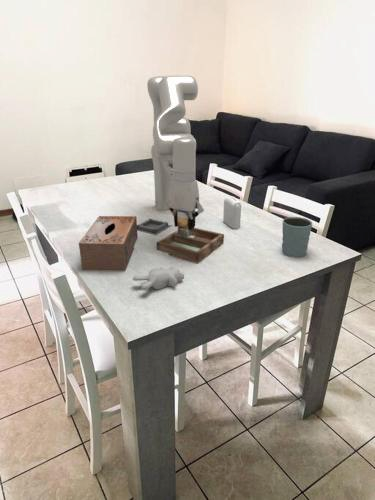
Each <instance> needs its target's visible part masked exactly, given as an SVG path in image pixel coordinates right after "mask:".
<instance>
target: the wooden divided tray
mask: <svg viewBox="0 0 375 500" xmlns="http://www.w3.org/2000/svg"><path fill="white" fill-rule="evenodd" d="M191 236H193V237H190V236H188V237H181V236H178V229H177V230H176V231H174V232H172V233H169V235H167V236H165V237H163V238H162V239H160V240H159V241H157V242H156V251H161V252H163V253H167V256H171V257H174V258H178V259H180V260H181V259H182V260H185V261H188V262H192V263H195V264H199V263H201V262H202V261H203V260H205V259H206V258H207V257H208V256H209V255H211V254H212V253H213V252H215V251H216V250H217V249H218V248H220V247H221V246H222V245H223V244H224V239H225V233H220V232H216V231H211V230H208V229H207V230H206V229H202V228H198V227H194V228H193V229H192V235H191Z"/></svg>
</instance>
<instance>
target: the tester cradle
mask: <svg viewBox="0 0 375 500" xmlns="http://www.w3.org/2000/svg"><path fill="white" fill-rule="evenodd" d="M172 226H173V225H172V224H169V222H166V221H162V220H157V219H153V218H149V219H146V220H145V221H143V222H141V223H139V224H137V232H142V233H145V234H149V235H154V236H157V235H159V234H160V233H162V232H164V231H166V230H167V229H169V228H171V227H172Z"/></svg>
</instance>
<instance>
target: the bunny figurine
mask: <svg viewBox="0 0 375 500" xmlns="http://www.w3.org/2000/svg"><path fill="white" fill-rule="evenodd" d="M184 279H185V274H184V273H183V272H181V271H180V270H178V269H175V268H174V267H168V268H164V267H158V268H152V269H150V271H149V272H148V274H147V275H138V274H135V275H133V277H132V281H134V282H135V281H137V282H138V281H145V282H142V283H140V288H141V290H143V291H146V290H149V289H150V288H154V289H155V290H162V289H165V288H166V287H168V286H169V287H175V288H176V287H177V286H178V284H179V283H181V281H183V280H184Z"/></svg>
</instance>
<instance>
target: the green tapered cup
mask: <svg viewBox="0 0 375 500" xmlns="http://www.w3.org/2000/svg"><path fill="white" fill-rule="evenodd" d="M312 226H313V221H311V220H310V219H308V218H306V217H299V216H290V217H285V218H284V219H283V220H282V240H281V241H282V243H281V252H282V254H283V255H285V256H286V257H290V258H303V257H305V256H306V255H307V251H308V248H309V247H308V245H309V242H310V236H311V230H312V228H313V227H312Z"/></svg>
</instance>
